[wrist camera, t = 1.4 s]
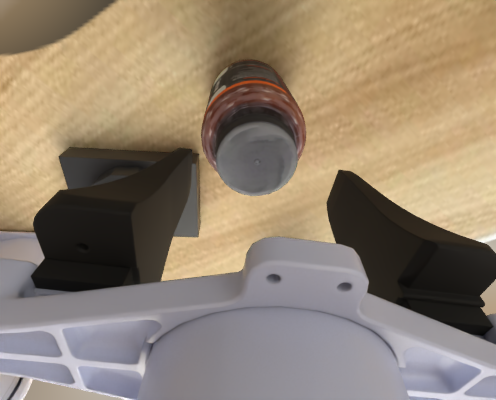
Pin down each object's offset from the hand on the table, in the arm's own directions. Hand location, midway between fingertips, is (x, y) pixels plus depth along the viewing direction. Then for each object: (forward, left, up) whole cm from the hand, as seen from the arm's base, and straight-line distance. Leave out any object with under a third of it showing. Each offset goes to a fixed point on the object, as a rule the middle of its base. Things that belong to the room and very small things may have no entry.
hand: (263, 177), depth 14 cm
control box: (-10, -8, -11) cm, 17 cm away
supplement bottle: (0, +1, -12) cm, 12 cm away
